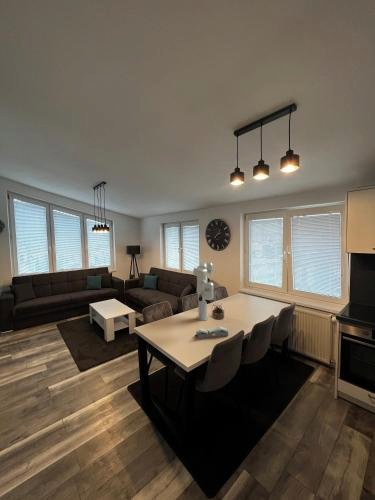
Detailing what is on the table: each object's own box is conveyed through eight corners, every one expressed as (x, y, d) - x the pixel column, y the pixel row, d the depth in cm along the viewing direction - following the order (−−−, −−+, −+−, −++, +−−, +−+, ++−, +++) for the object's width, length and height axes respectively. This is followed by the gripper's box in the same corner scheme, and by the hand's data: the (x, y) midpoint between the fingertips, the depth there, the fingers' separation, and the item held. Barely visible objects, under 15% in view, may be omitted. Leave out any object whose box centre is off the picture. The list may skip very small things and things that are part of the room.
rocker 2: (208, 331, 191) (207, 329, 191) (215, 327, 193) (215, 326, 193) (209, 332, 187) (209, 331, 187) (217, 329, 189) (217, 328, 189)
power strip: (193, 335, 190) (193, 330, 190) (224, 332, 198) (225, 327, 198) (195, 339, 184) (196, 333, 183) (228, 335, 191) (228, 330, 191)
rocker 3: (217, 327, 193) (217, 325, 193) (224, 329, 195) (225, 328, 195) (219, 329, 189) (219, 327, 190) (226, 331, 191) (227, 329, 192)
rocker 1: (198, 329, 189) (198, 327, 189) (205, 331, 191) (206, 330, 191) (199, 331, 185) (200, 329, 185) (207, 333, 187) (207, 331, 187)
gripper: (194, 281, 208) (194, 298, 209) (199, 284, 194) (199, 303, 195) (202, 280, 210) (201, 298, 211) (207, 283, 196) (206, 302, 197)
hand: (200, 300), depth 203 cm, fingers closed
